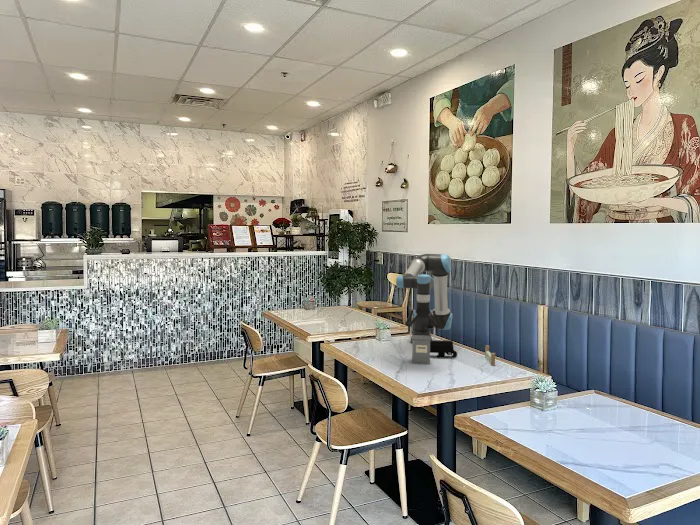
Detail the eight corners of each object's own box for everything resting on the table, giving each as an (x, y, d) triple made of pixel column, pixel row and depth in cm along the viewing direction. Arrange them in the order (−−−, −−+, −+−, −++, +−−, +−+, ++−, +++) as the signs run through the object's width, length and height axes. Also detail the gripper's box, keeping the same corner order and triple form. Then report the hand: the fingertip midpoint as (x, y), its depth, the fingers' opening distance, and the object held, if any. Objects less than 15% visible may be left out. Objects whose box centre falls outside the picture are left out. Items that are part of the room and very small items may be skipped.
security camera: (457, 358, 322) (458, 342, 322) (427, 358, 323) (428, 342, 322) (455, 355, 329) (456, 340, 328) (426, 355, 330) (426, 339, 329)
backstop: (485, 356, 328) (485, 345, 328) (488, 356, 328) (488, 345, 327) (491, 365, 307) (491, 353, 307) (494, 365, 307) (495, 353, 307)
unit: (411, 358, 320) (411, 335, 319) (429, 359, 319) (429, 335, 318) (412, 363, 309) (412, 339, 308) (430, 364, 308) (431, 339, 307)
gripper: (401, 301, 298) (400, 338, 299) (445, 303, 296) (444, 340, 297) (401, 300, 305) (400, 335, 307) (444, 301, 303) (443, 337, 305)
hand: (422, 338), depth 302 cm, fingers open, 13 cm apart
